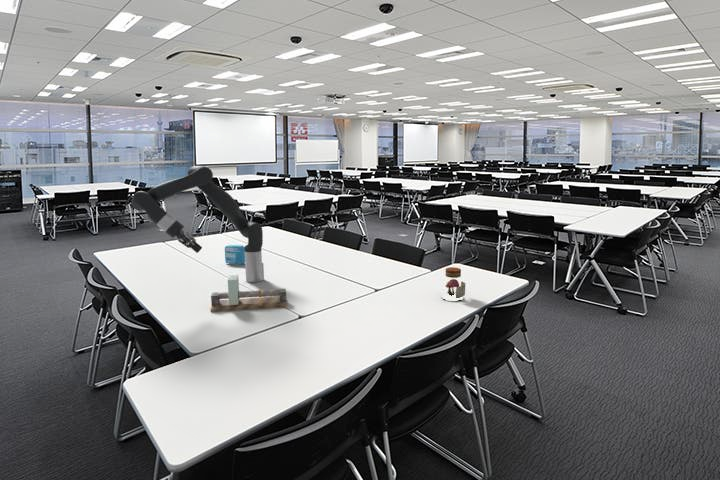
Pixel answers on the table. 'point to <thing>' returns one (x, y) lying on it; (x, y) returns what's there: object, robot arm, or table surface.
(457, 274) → the jar with lid
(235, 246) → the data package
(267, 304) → the pipe stand
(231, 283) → the pale green rectangular block
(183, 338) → the table surface
